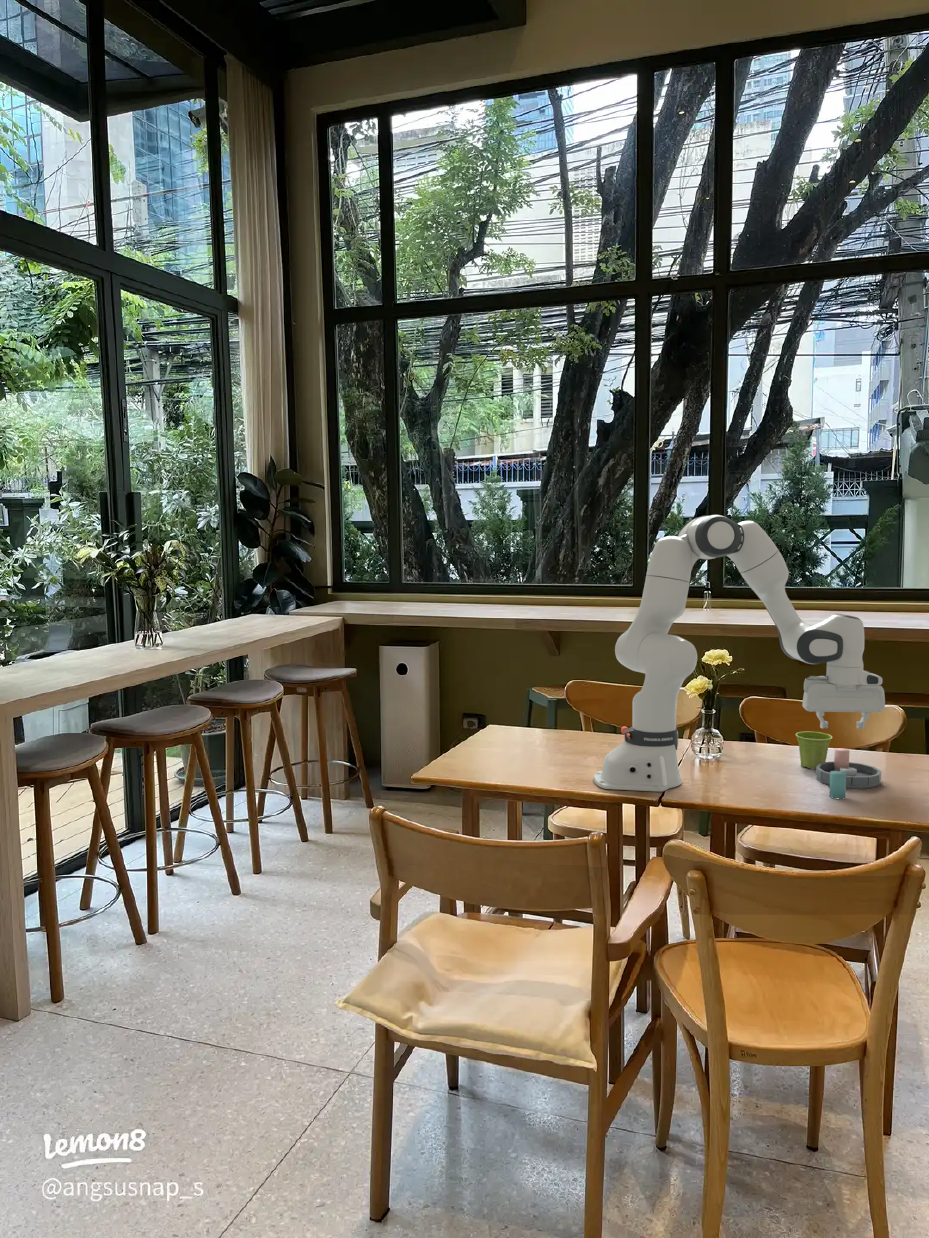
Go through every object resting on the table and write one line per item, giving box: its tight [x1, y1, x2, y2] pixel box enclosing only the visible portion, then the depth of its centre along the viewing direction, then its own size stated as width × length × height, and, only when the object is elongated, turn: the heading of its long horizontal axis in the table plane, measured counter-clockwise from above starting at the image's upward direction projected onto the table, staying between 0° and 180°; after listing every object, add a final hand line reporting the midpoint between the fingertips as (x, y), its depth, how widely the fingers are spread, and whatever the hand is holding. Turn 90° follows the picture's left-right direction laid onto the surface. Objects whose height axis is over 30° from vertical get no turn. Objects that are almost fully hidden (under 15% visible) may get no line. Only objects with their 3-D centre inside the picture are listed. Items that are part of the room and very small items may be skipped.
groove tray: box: [815, 761, 882, 790], centre depth 235 cm, size 15×15×3 cm
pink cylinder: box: [833, 747, 850, 771], centre depth 239 cm, size 4×4×6 cm
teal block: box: [829, 771, 847, 800], centre depth 221 cm, size 4×4×6 cm
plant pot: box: [795, 731, 833, 770], centre depth 249 cm, size 9×9×9 cm
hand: (842, 728), depth 238 cm, fingers open, 8 cm apart
